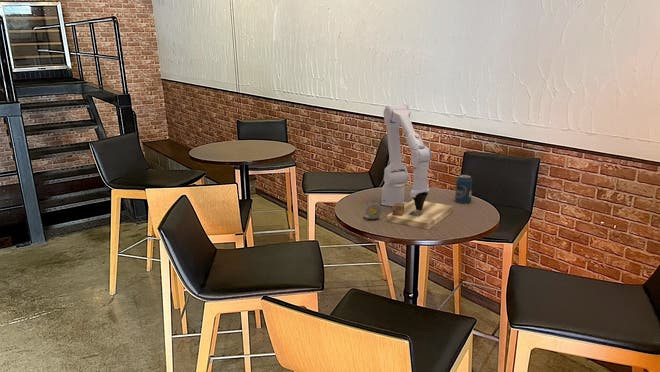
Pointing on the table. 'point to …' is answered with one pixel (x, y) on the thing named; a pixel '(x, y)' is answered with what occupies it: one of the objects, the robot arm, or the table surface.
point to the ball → (416, 213)
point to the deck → (422, 215)
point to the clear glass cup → (373, 210)
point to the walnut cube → (398, 209)
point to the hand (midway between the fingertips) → (419, 209)
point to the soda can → (463, 189)
